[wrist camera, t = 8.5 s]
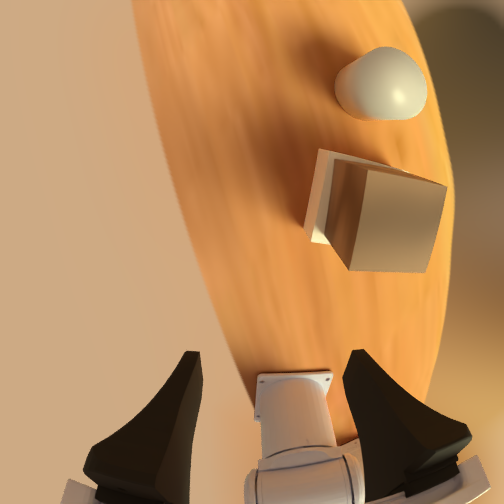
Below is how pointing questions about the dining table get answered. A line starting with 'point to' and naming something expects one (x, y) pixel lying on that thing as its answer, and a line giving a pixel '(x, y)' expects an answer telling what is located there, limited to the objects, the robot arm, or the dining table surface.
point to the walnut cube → (382, 217)
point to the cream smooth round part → (381, 86)
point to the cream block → (325, 192)
